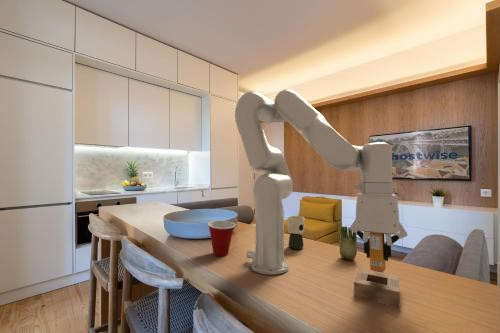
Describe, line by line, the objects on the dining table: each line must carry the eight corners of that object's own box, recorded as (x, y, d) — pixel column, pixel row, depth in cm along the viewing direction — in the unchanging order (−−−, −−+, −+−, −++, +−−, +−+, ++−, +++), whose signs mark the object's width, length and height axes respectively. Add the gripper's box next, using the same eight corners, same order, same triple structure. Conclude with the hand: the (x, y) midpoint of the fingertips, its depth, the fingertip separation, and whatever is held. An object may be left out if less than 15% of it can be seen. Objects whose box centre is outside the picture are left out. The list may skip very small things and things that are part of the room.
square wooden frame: (354, 297, 62) (354, 281, 62) (359, 282, 70) (359, 268, 70) (399, 309, 57) (399, 292, 57) (399, 291, 65) (399, 276, 65)
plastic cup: (221, 261, 86) (222, 227, 86) (201, 254, 92) (201, 223, 93) (240, 253, 94) (241, 222, 95) (221, 247, 101) (221, 219, 101)
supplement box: (371, 266, 66) (371, 229, 66) (385, 269, 64) (385, 231, 64) (368, 269, 63) (368, 232, 64) (383, 273, 61) (383, 234, 61)
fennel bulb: (358, 261, 87) (358, 228, 87) (347, 262, 85) (347, 228, 86) (347, 255, 92) (347, 224, 93) (337, 257, 91) (337, 225, 91)
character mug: (299, 253, 95) (300, 220, 95) (283, 250, 99) (283, 218, 99) (307, 246, 104) (307, 216, 105) (292, 243, 108) (292, 214, 108)
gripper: (341, 188, 65) (342, 256, 65) (414, 191, 57) (416, 269, 56) (346, 187, 72) (346, 249, 71) (412, 189, 63) (414, 259, 63)
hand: (377, 257), depth 64 cm, fingers closed on supplement box, 3 cm apart
